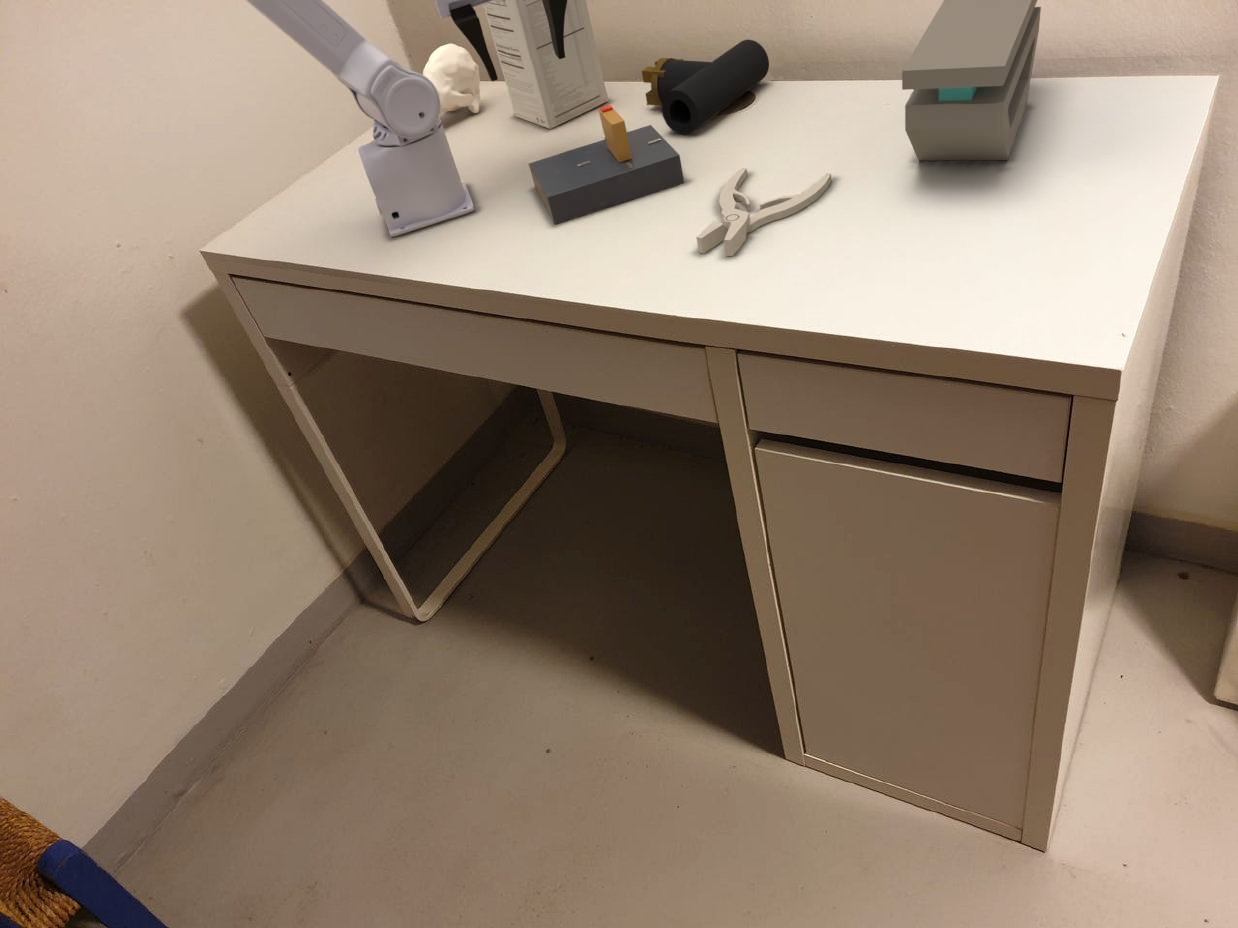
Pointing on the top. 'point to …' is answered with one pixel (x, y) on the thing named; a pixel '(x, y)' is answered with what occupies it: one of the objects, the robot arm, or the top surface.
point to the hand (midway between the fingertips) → (527, 67)
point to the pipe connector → (703, 84)
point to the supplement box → (546, 61)
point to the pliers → (741, 221)
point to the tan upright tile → (615, 133)
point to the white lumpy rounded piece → (454, 78)
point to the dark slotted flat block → (605, 175)
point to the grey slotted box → (971, 79)
